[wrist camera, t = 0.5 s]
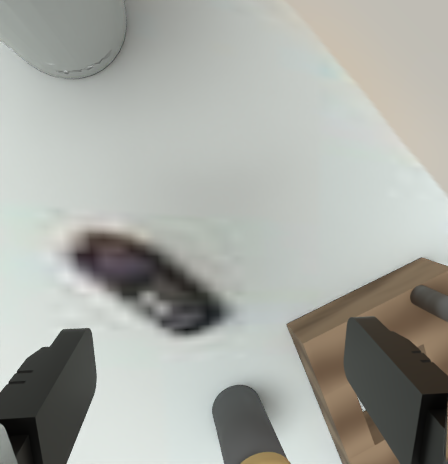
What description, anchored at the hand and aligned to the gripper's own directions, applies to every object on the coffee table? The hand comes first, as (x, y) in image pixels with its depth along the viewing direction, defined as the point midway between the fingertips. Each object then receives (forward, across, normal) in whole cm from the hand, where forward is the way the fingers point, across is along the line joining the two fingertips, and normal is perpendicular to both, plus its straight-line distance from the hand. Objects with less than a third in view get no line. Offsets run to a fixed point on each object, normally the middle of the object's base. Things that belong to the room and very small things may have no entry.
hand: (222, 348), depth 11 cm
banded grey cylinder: (+20, -3, +20) cm, 28 cm away
